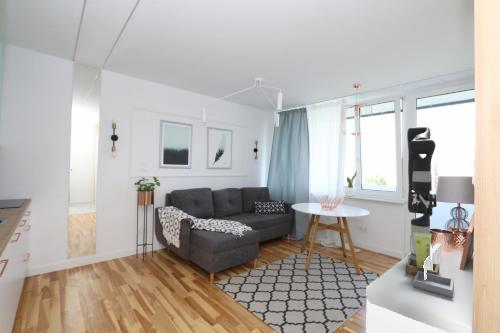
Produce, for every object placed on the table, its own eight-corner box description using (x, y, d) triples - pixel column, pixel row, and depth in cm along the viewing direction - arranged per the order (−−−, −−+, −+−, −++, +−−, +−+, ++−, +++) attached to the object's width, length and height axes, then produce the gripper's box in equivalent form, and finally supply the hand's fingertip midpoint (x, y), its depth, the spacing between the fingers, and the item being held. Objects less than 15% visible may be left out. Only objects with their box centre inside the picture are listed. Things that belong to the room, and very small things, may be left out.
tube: (423, 276, 111) (423, 234, 112) (413, 271, 116) (413, 231, 116) (432, 274, 113) (431, 233, 113) (421, 270, 118) (421, 231, 118)
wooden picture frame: (405, 273, 114) (405, 265, 114) (409, 265, 123) (409, 258, 123) (437, 281, 106) (437, 272, 106) (439, 272, 115) (439, 264, 115)
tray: (413, 287, 101) (413, 280, 101) (418, 277, 110) (417, 270, 110) (452, 298, 93) (452, 290, 93) (453, 286, 102) (453, 279, 102)
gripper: (441, 181, 108) (442, 217, 108) (418, 180, 122) (418, 211, 122) (426, 181, 108) (426, 217, 108) (404, 180, 122) (404, 211, 122)
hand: (422, 214), depth 115 cm, fingers open, 8 cm apart
